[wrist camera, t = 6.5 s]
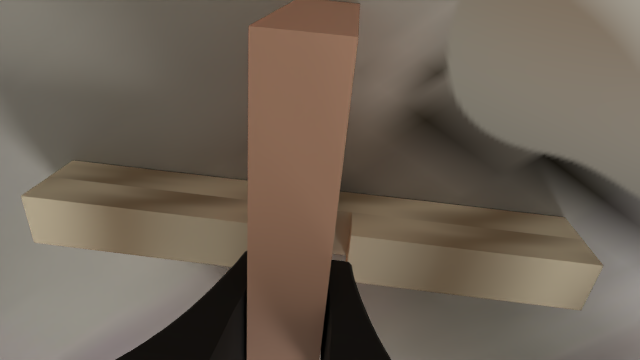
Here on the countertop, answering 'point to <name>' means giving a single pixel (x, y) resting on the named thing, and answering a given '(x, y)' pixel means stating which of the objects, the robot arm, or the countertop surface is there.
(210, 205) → the birch slotted plate
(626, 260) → the countertop surface
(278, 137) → the terracotta slotted plate
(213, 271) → the countertop surface
